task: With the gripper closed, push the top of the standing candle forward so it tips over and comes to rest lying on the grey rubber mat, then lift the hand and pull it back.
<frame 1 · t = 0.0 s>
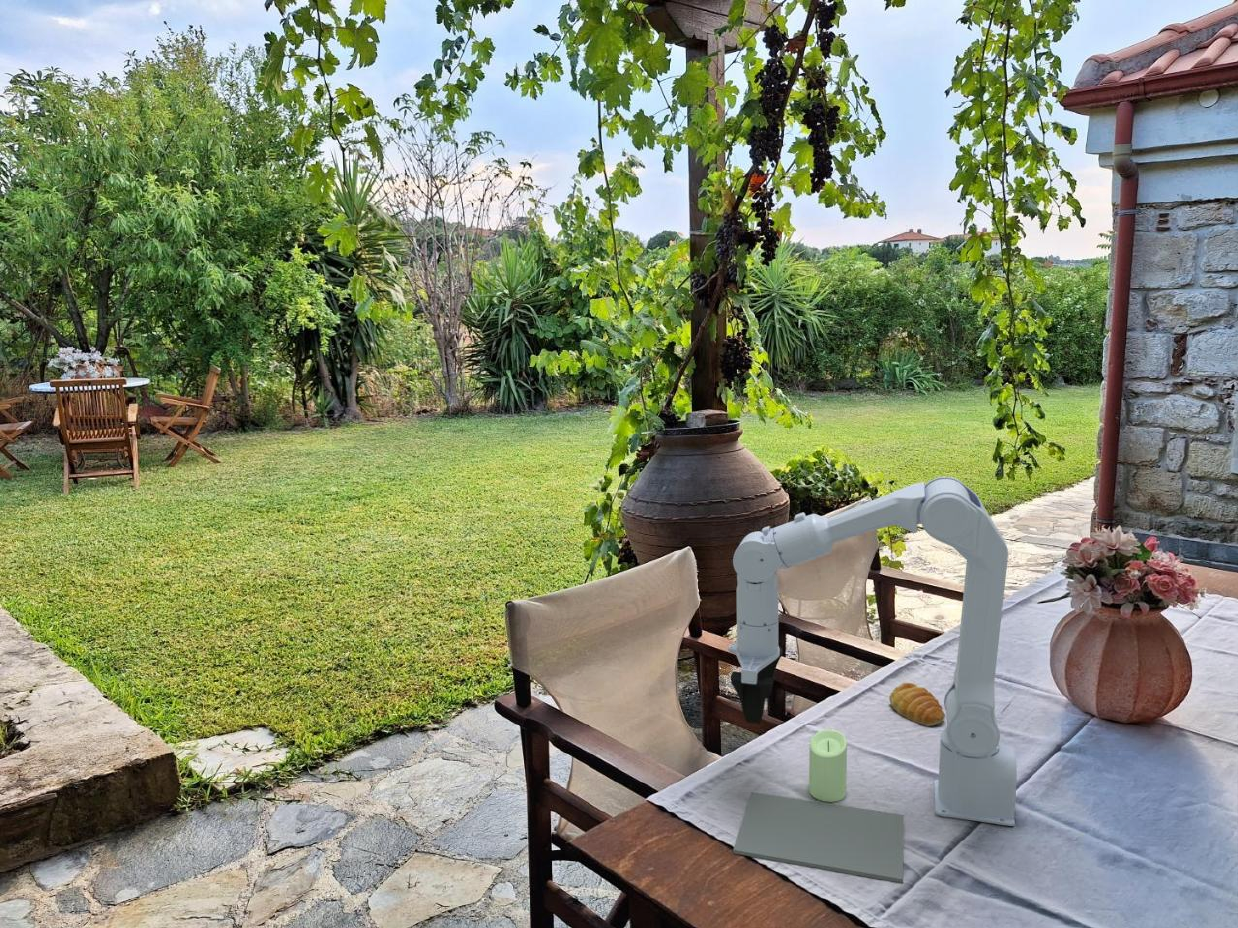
hand: (757, 709, 121), 10 cm above the table, tool pointing down, fingers open, 7 cm apart
mat: (820, 835, 109), on the table
pastry: (917, 713, 140), on the table
candle: (827, 793, 118), on the table
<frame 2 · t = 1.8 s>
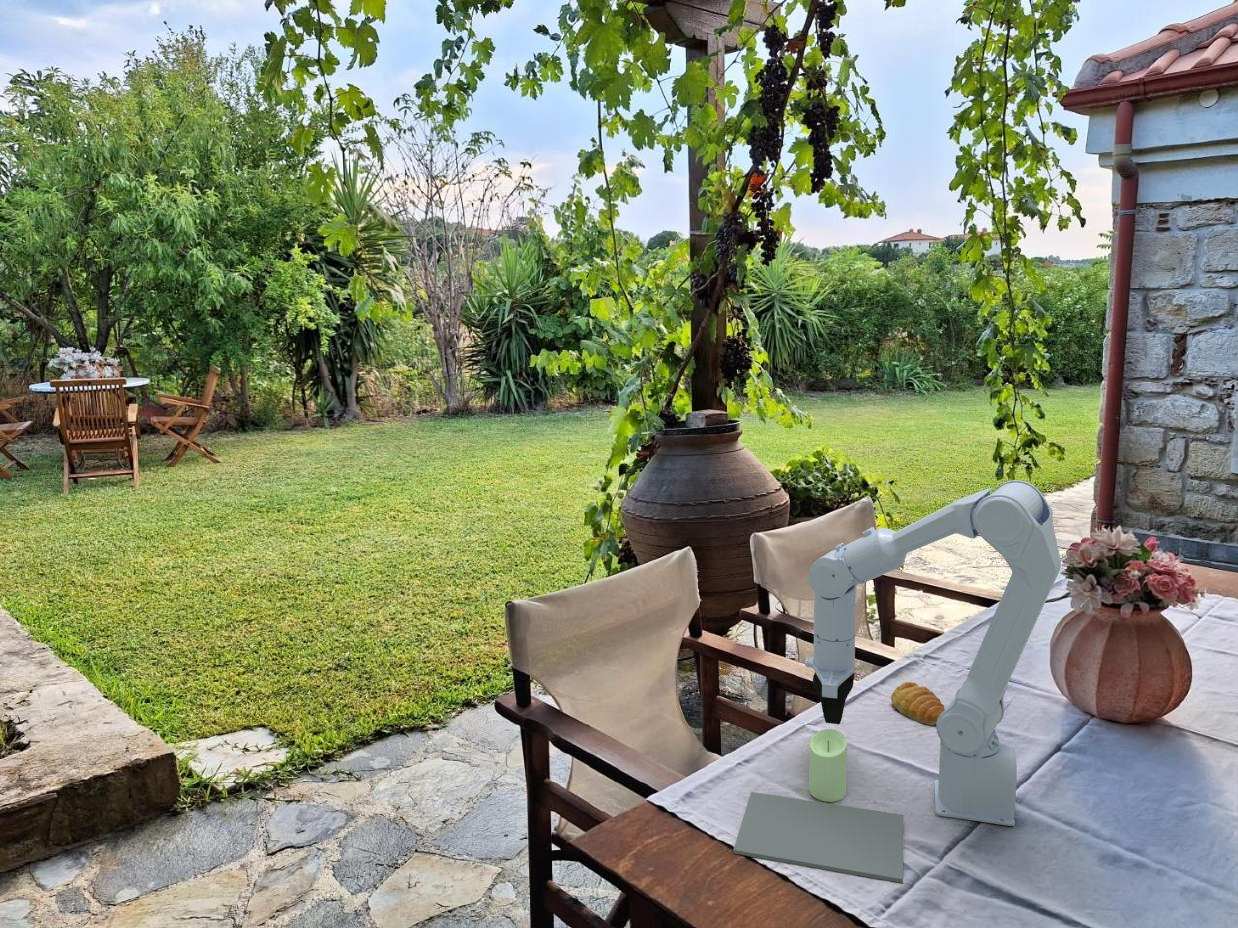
hand: (832, 721, 125), 6 cm above the table, tool pointing down, fingers closed
nothing on the table moved.
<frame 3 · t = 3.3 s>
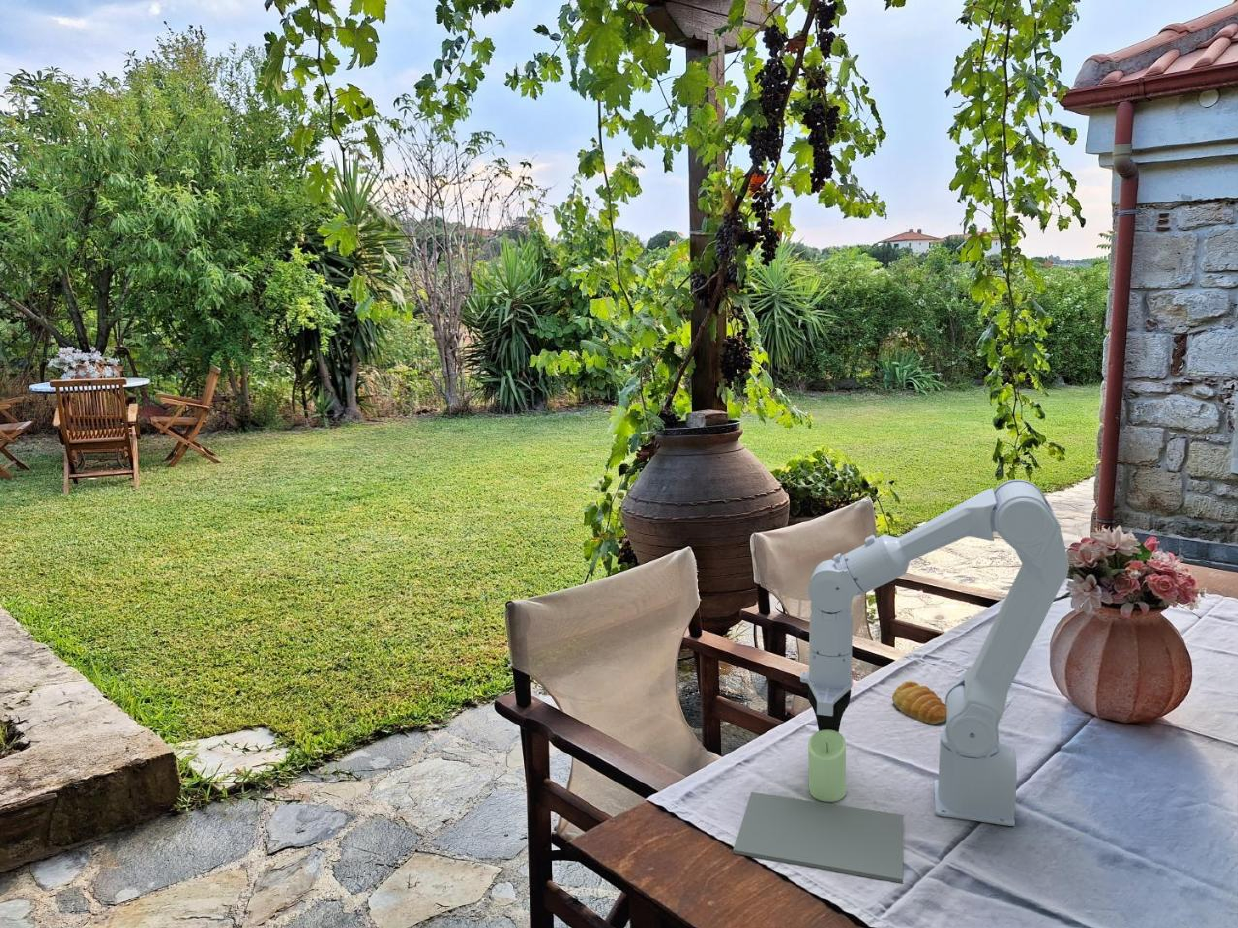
hand: (828, 739, 119), 7 cm above the table, tool pointing down, fingers closed
candle: (827, 791, 118), on the table, touching gripper
everything else where it was.
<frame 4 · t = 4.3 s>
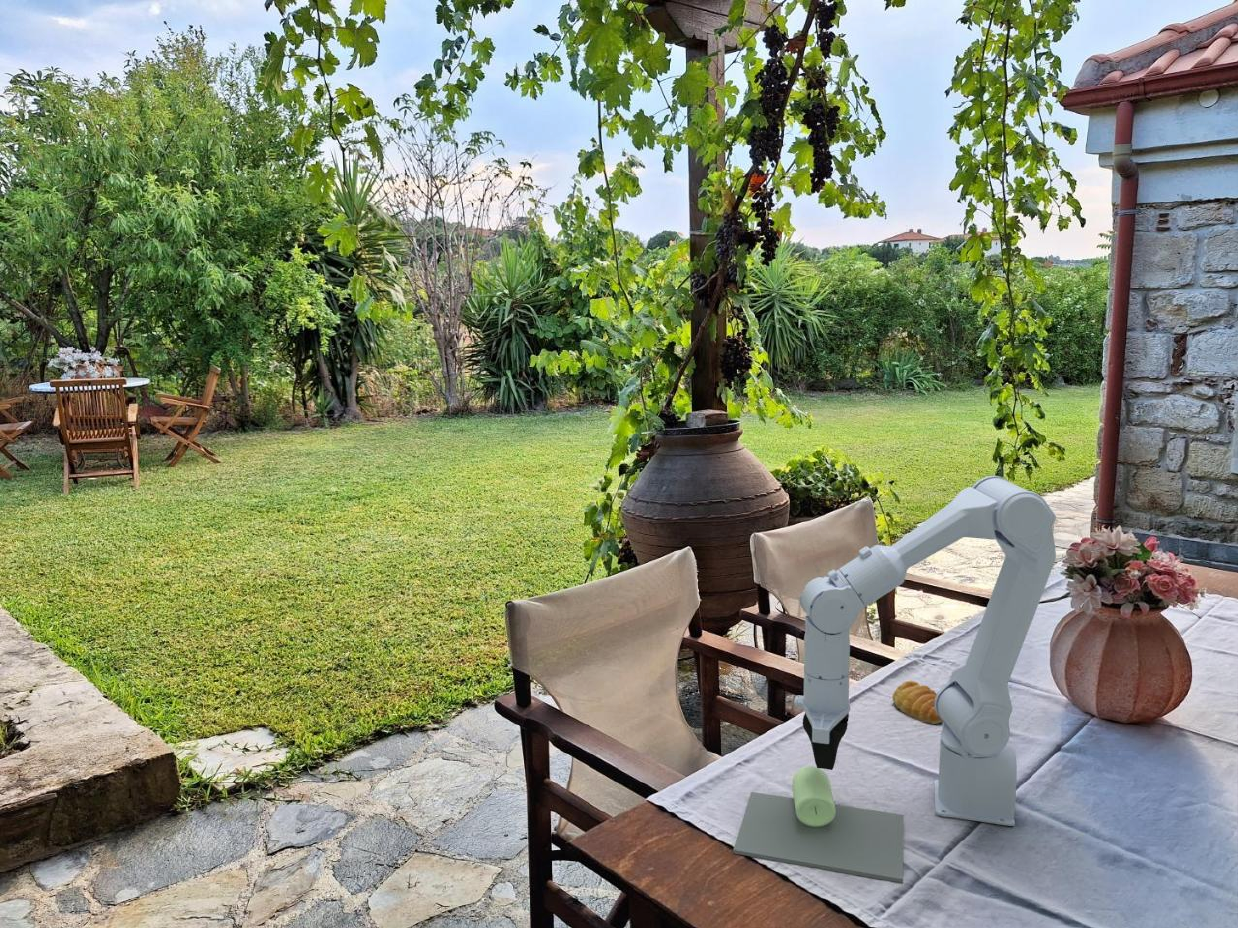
hand: (825, 766, 113), 6 cm above the table, tool pointing down, fingers closed
candle: (810, 782, 116), point 2 cm above the table, touching mat
everything else where it was.
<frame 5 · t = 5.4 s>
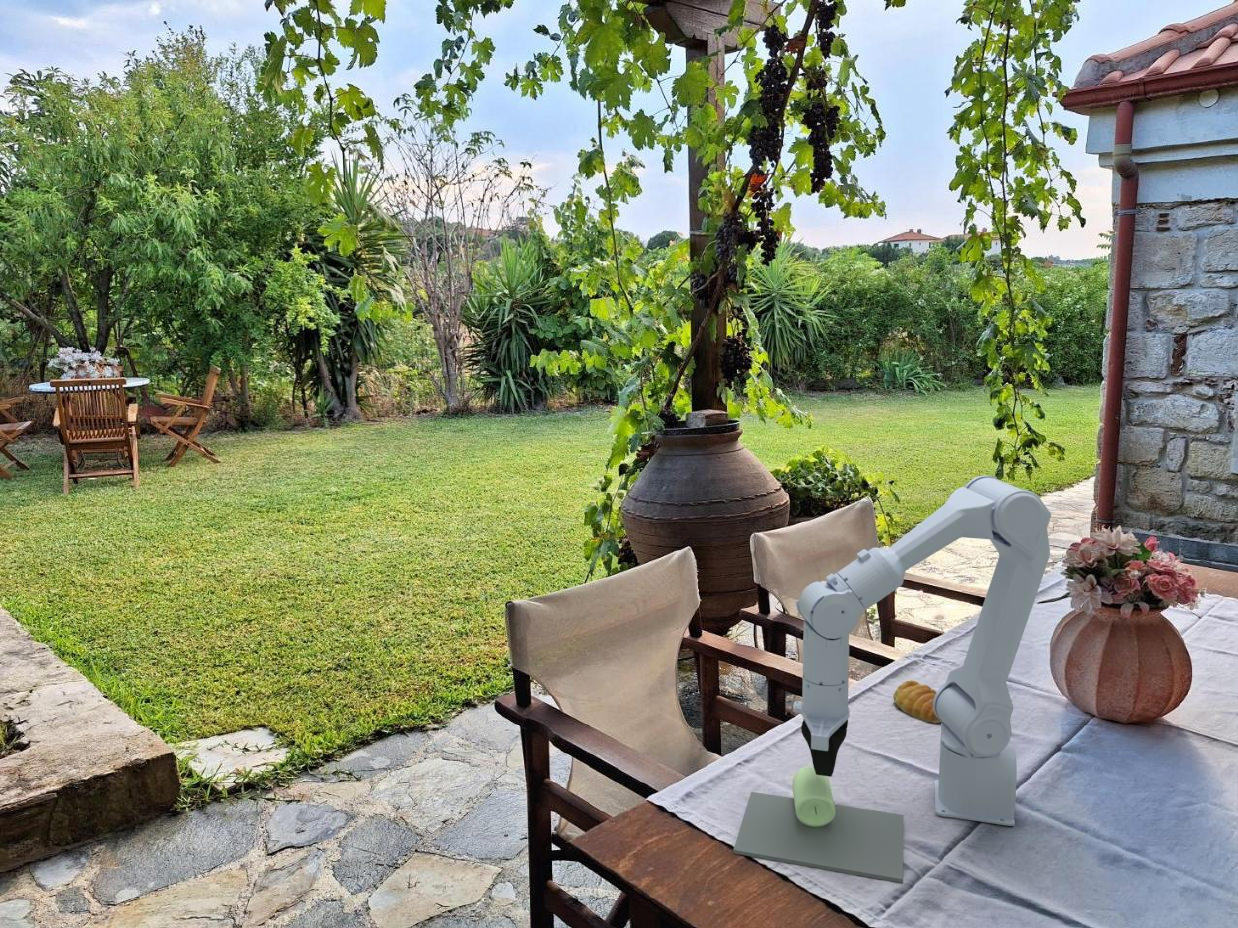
hand: (824, 772, 112), 6 cm above the table, tool pointing down, fingers closed
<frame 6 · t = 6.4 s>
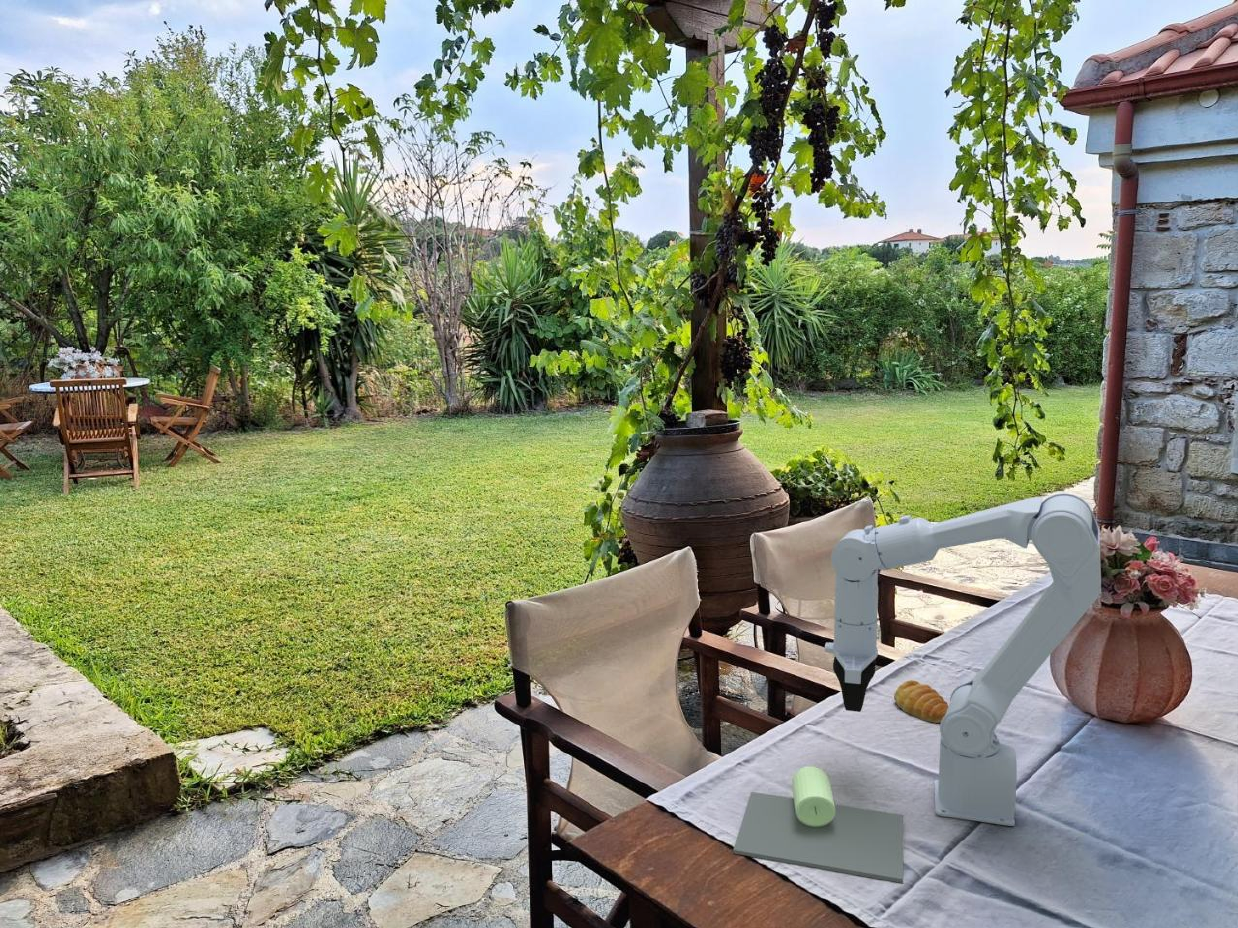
hand: (853, 708, 120), 10 cm above the table, tool pointing down, fingers closed
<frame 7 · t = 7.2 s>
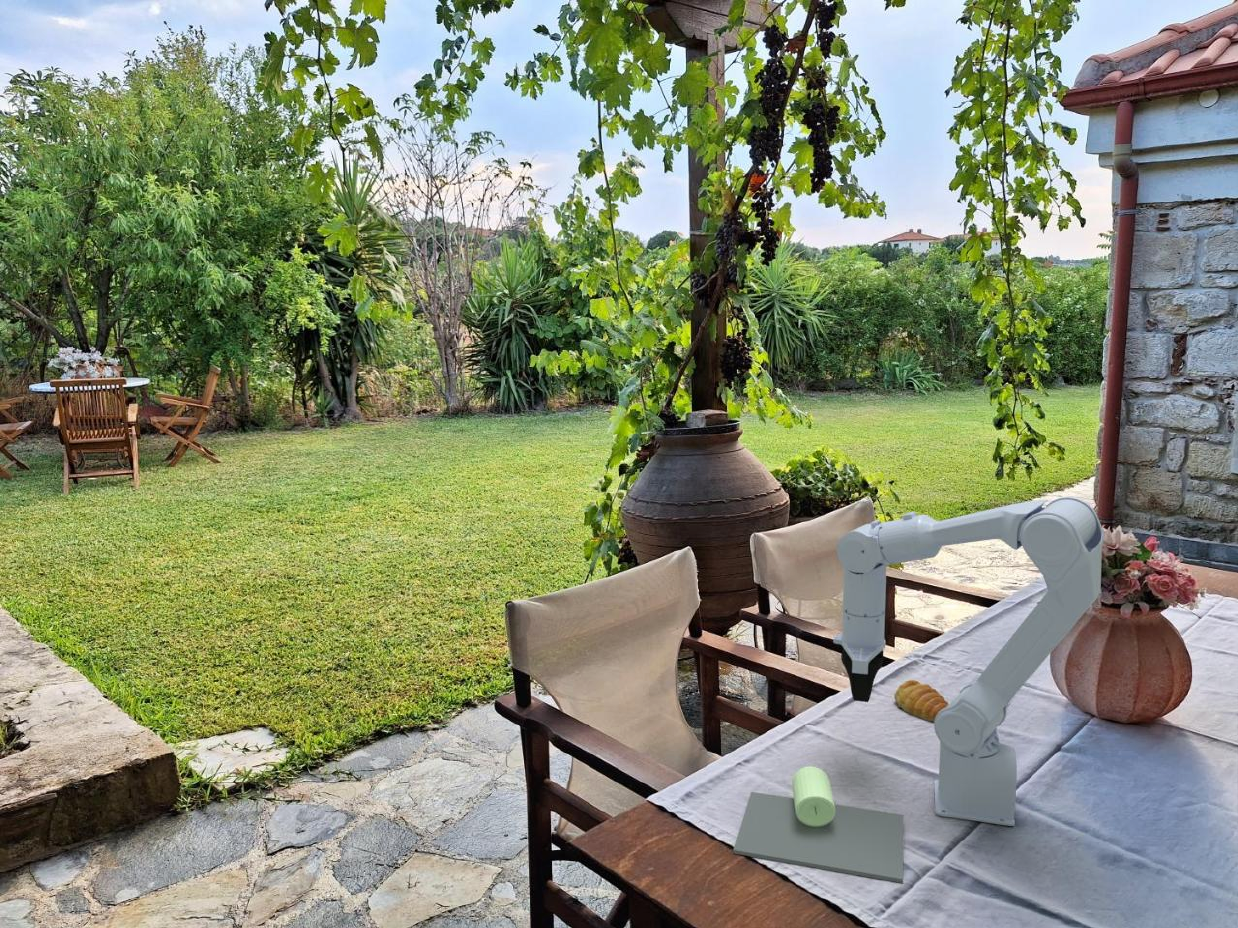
hand: (861, 699, 123), 10 cm above the table, tool pointing down, fingers closed
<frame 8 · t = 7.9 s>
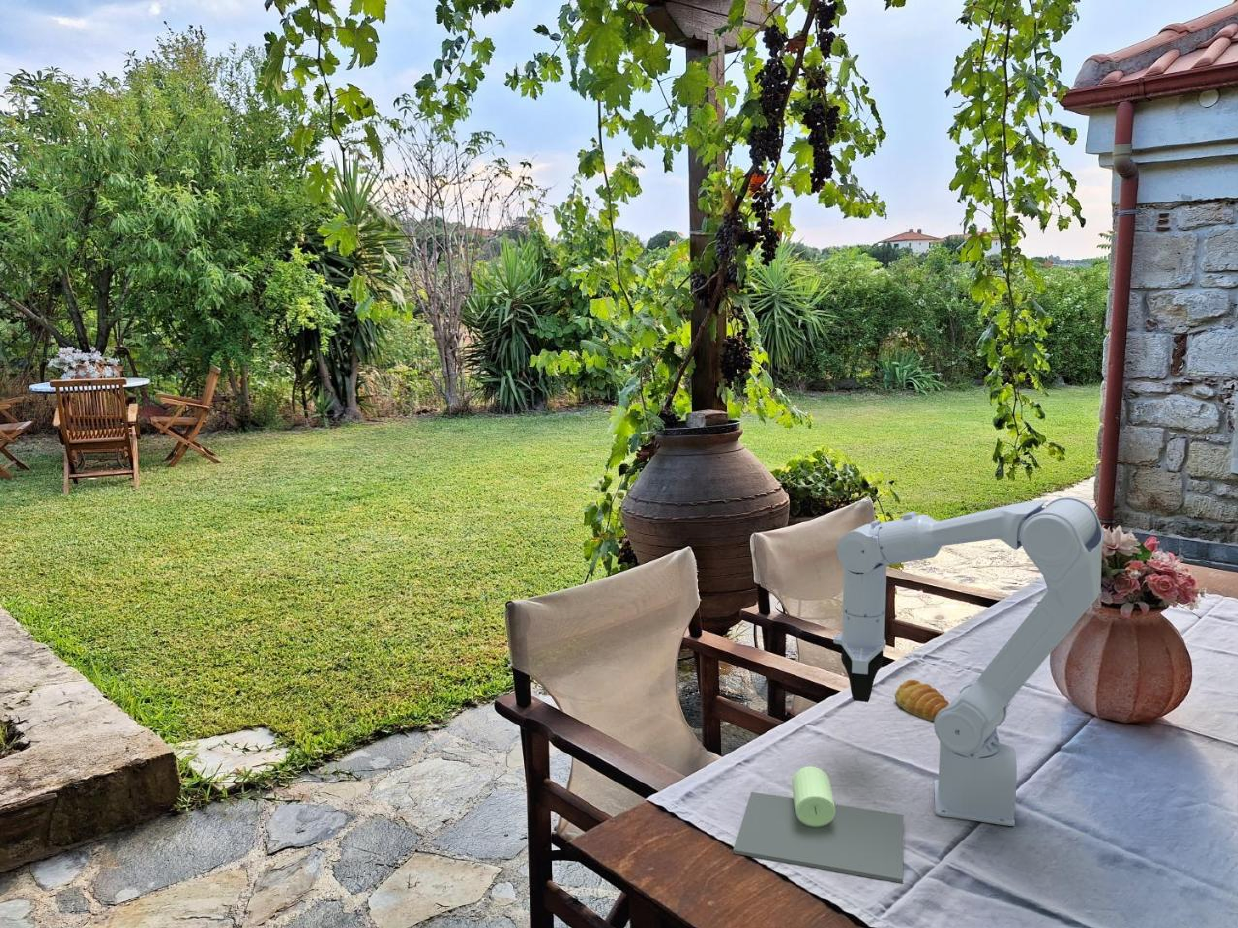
hand: (861, 699, 123), 10 cm above the table, tool pointing down, fingers closed
at the end: candle tilted 85°; candle touching mat, table; candle inside the target area (4.7 cm from its centre), point 2.5 cm above the table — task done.
